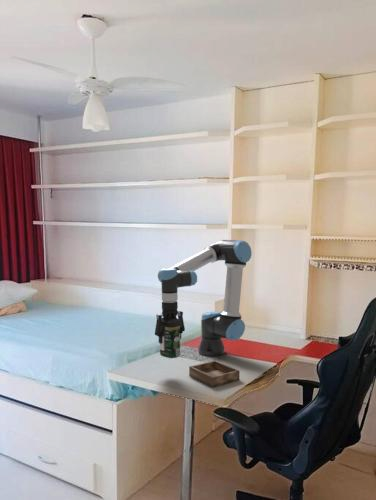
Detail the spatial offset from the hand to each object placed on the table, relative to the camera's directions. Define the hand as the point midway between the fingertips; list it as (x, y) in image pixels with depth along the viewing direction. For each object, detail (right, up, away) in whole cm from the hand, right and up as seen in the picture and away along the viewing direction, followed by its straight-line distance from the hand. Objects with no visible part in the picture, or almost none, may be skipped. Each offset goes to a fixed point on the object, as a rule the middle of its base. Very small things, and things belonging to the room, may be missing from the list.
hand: (170, 347), depth 194 cm
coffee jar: (0, -4, 0) cm, 4 cm away
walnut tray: (+21, -14, -2) cm, 25 cm away
